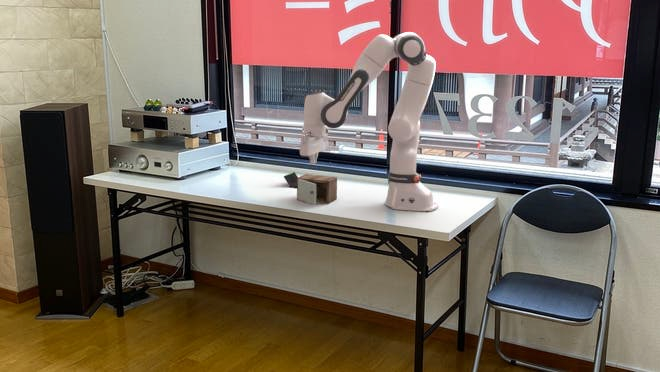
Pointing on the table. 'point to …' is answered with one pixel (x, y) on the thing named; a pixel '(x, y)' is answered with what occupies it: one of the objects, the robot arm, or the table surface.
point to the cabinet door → (307, 191)
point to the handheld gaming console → (291, 180)
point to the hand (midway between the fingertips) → (313, 163)
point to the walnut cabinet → (322, 187)
